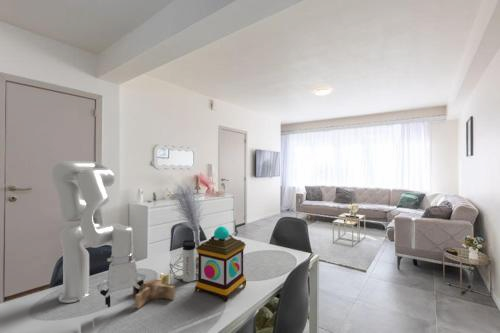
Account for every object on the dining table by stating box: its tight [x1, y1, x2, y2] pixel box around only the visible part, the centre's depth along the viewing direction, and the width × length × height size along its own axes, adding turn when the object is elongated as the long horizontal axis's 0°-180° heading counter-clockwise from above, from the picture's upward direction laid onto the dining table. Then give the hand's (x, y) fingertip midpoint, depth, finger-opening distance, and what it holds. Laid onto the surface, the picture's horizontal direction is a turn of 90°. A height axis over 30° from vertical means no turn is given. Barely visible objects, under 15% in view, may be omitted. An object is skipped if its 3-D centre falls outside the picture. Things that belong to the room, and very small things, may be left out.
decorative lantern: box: [194, 225, 247, 302], centre depth 116 cm, size 20×20×30 cm
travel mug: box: [182, 239, 197, 283], centre depth 124 cm, size 6×7×20 cm
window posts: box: [159, 272, 175, 286], centre depth 119 cm, size 5×5×5 cm
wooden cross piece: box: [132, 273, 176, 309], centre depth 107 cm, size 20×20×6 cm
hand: (122, 301), depth 98 cm, fingers open, 9 cm apart
